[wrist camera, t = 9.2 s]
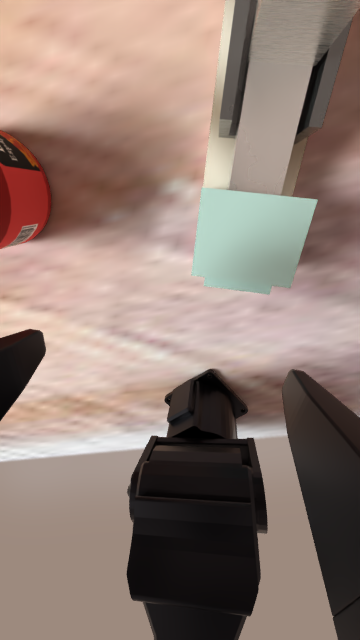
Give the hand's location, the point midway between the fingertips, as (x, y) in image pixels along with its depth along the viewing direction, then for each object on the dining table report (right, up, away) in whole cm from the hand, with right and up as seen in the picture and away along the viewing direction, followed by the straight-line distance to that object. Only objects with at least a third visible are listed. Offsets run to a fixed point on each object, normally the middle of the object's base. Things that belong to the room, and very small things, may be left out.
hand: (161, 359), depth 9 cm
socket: (+5, +8, +9) cm, 13 cm away
